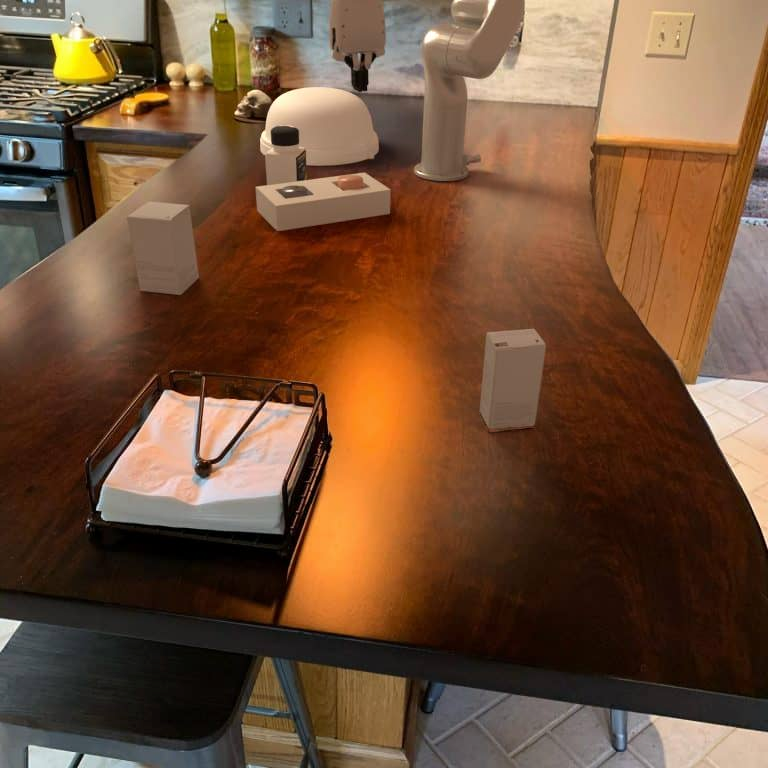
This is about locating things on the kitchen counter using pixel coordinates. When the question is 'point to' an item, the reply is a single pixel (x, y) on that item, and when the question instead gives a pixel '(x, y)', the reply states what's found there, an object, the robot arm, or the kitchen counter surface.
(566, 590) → the kitchen counter surface
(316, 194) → the button console
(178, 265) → the supplement box
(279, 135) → the medicine bottle
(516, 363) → the skincare box
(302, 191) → the charcoal button
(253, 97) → the skull
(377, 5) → the robot arm
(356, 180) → the light brown rounded piece
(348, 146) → the dome cover
